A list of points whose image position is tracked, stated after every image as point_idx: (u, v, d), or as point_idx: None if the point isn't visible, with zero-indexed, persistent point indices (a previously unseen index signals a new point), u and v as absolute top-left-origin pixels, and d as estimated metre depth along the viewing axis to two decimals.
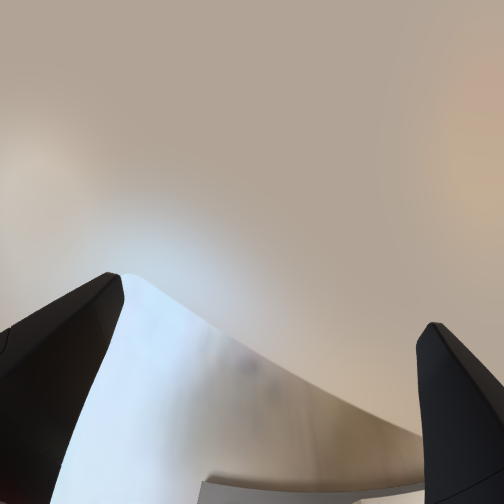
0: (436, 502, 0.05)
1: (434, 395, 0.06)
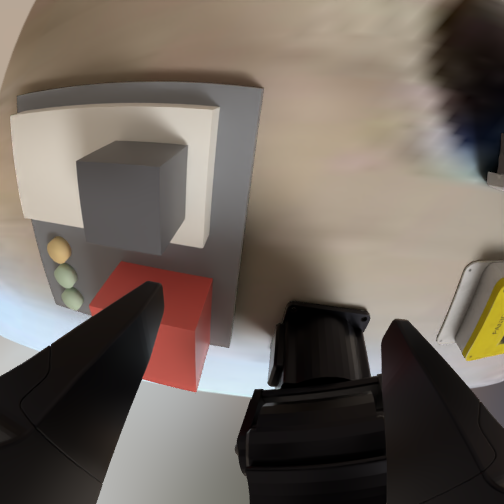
0: None
1: (396, 396, 0.06)
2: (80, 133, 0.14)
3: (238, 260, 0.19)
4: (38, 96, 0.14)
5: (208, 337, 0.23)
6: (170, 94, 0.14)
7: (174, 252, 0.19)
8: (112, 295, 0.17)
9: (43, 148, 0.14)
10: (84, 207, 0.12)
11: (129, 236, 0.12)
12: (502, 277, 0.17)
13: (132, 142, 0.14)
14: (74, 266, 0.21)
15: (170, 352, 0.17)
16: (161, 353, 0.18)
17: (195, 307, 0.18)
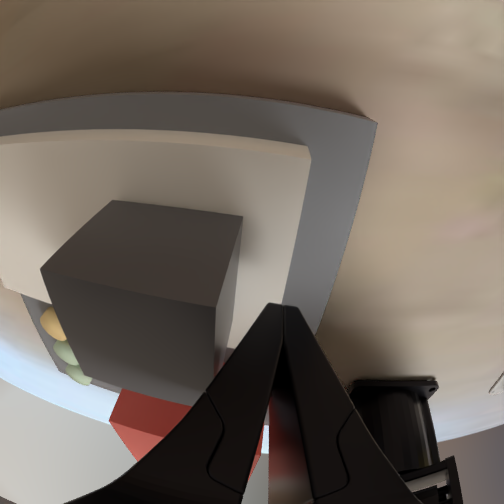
0: None
1: (274, 389, 0.06)
2: (65, 183, 0.08)
3: None
4: (4, 117, 0.09)
5: None
6: (219, 118, 0.09)
7: None
8: (138, 404, 0.12)
9: (13, 201, 0.09)
10: (71, 338, 0.07)
11: (156, 385, 0.07)
12: None
13: (141, 207, 0.08)
14: None
15: None
16: None
17: None
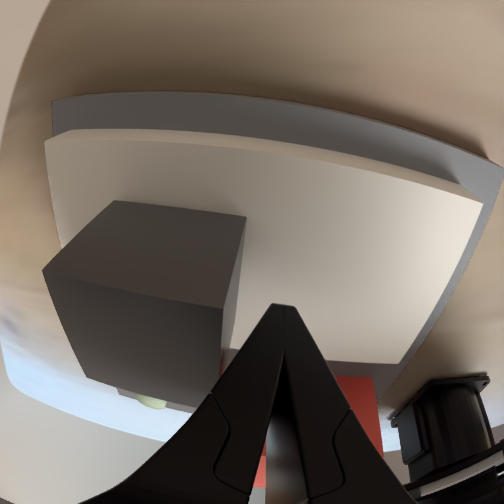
0: None
1: None
2: (234, 200, 0.08)
3: (410, 358, 0.14)
4: (101, 104, 0.08)
5: None
6: (400, 151, 0.08)
7: None
8: None
9: None
10: (74, 340, 0.06)
11: (161, 387, 0.07)
12: None
13: (143, 207, 0.08)
14: None
15: None
16: None
17: (372, 424, 0.12)
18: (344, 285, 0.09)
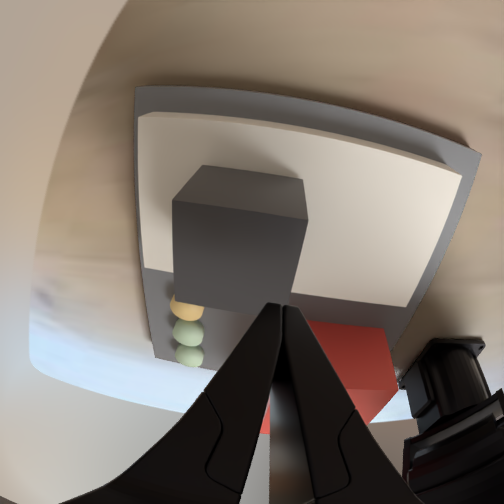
0: None
1: (275, 389, 0.06)
2: (291, 167, 0.12)
3: (414, 310, 0.17)
4: (183, 94, 0.12)
5: None
6: (402, 139, 0.12)
7: (354, 306, 0.17)
8: None
9: None
10: (179, 261, 0.10)
11: (244, 298, 0.10)
12: None
13: (229, 170, 0.11)
14: (204, 321, 0.19)
15: None
16: None
17: (386, 364, 0.15)
18: (364, 233, 0.13)
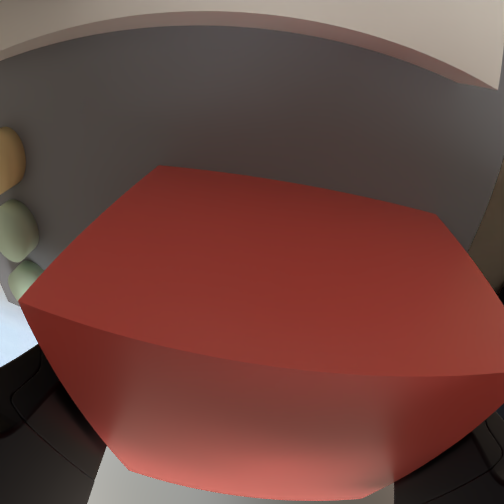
0: None
1: None
2: None
3: (498, 167, 0.06)
4: None
5: None
6: None
7: (353, 125, 0.06)
8: (136, 254, 0.04)
9: None
10: None
11: None
12: None
13: None
14: (32, 205, 0.08)
15: (380, 456, 0.04)
16: (340, 464, 0.04)
17: (478, 286, 0.04)
18: None
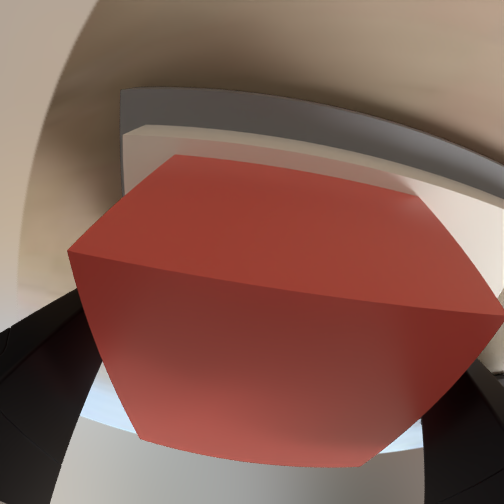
0: (437, 502, 0.05)
1: None
2: None
3: None
4: (188, 100, 0.08)
5: None
6: (473, 173, 0.08)
7: None
8: (166, 217, 0.05)
9: None
10: None
11: None
12: None
13: None
14: None
15: (373, 403, 0.05)
16: (337, 410, 0.05)
17: (451, 251, 0.05)
18: None
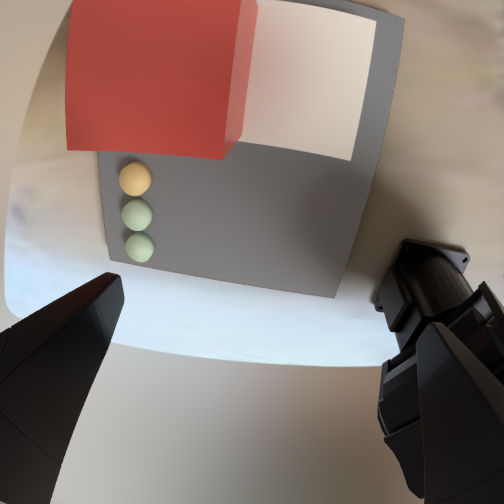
0: (437, 502, 0.05)
1: (434, 395, 0.06)
2: None
3: (370, 185, 0.17)
4: None
5: (243, 107, 0.13)
6: (318, 5, 0.11)
7: (300, 174, 0.17)
8: None
9: None
10: None
11: None
12: None
13: None
14: (152, 201, 0.19)
15: (188, 38, 0.08)
16: (170, 48, 0.08)
17: None
18: (286, 72, 0.12)
